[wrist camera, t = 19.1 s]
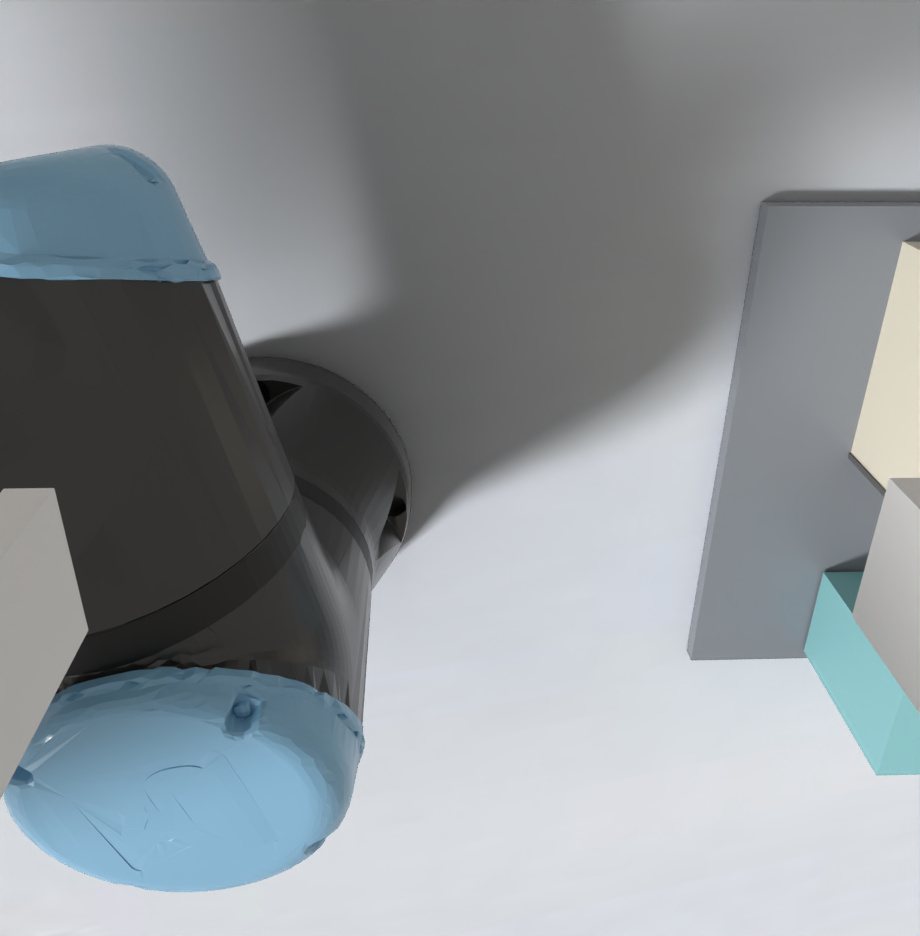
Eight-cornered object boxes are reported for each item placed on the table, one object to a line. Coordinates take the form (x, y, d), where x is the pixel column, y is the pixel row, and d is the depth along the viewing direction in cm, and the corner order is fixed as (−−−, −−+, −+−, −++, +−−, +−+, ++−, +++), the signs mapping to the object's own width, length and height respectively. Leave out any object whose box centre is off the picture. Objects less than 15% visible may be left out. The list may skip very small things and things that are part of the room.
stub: (866, 649, 55) (950, 773, 47) (803, 651, 55) (876, 775, 46) (889, 571, 53) (983, 687, 44) (823, 572, 52) (904, 688, 44)
